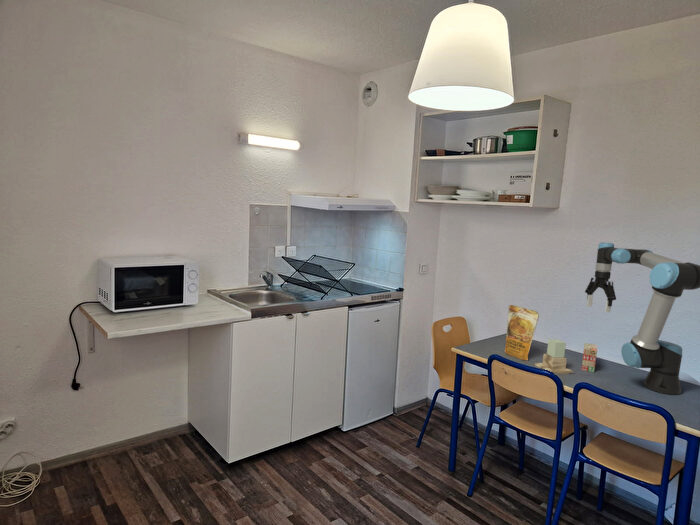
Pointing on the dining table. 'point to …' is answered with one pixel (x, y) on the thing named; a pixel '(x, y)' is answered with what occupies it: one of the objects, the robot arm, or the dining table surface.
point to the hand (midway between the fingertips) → (598, 309)
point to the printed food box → (589, 357)
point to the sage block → (556, 348)
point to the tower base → (554, 365)
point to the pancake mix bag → (520, 331)
